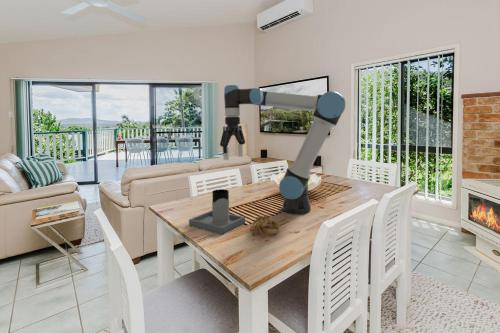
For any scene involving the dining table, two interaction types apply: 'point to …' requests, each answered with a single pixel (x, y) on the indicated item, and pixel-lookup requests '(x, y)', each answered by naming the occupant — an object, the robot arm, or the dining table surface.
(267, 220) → the crab model
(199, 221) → the grey square tray
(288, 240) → the dining table surface
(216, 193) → the glass holder
